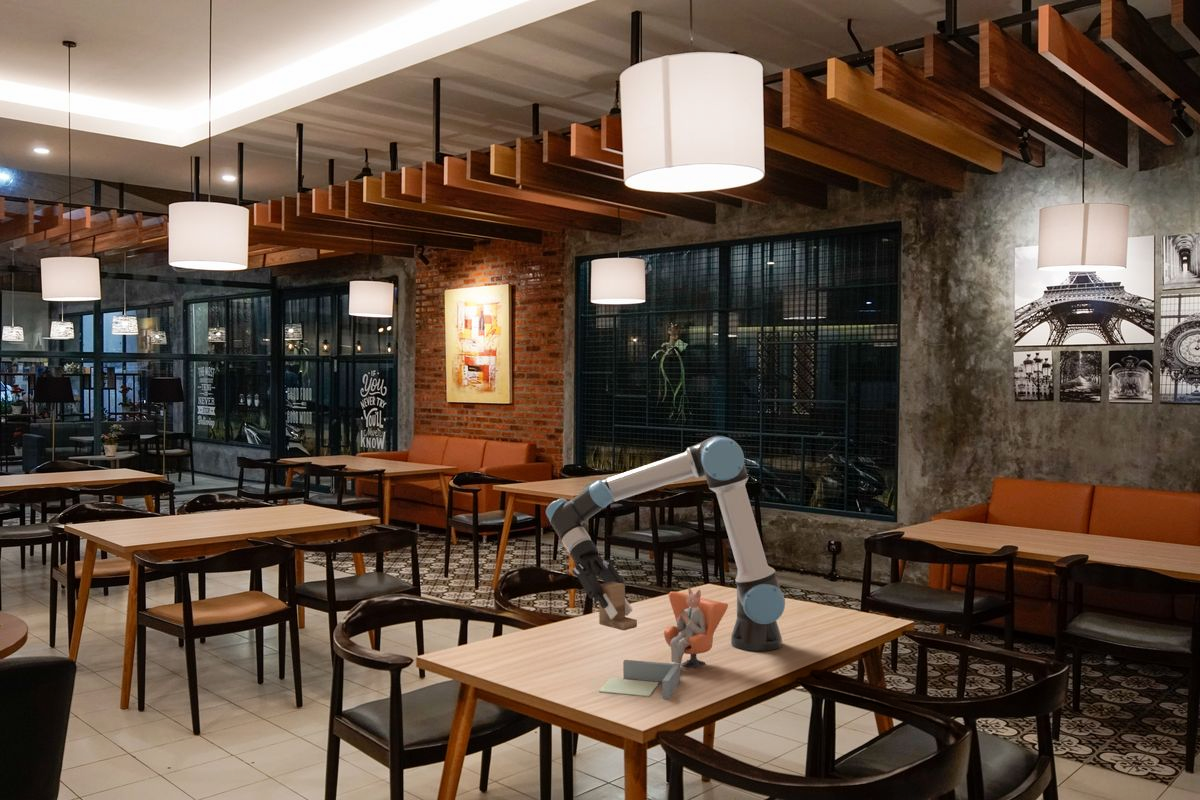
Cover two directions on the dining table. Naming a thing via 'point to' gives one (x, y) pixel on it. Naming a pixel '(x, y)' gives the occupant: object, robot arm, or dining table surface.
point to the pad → (629, 687)
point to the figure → (692, 626)
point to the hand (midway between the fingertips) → (621, 614)
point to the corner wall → (654, 674)
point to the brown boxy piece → (618, 600)
